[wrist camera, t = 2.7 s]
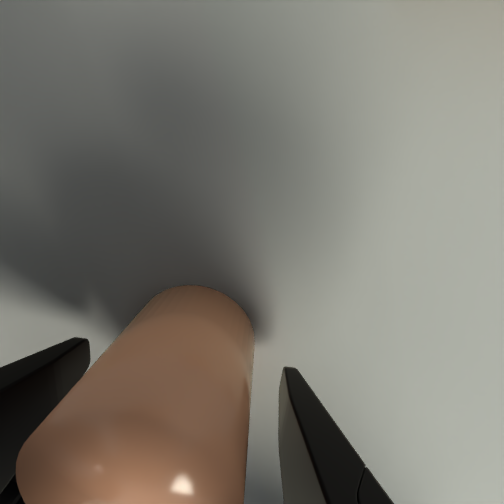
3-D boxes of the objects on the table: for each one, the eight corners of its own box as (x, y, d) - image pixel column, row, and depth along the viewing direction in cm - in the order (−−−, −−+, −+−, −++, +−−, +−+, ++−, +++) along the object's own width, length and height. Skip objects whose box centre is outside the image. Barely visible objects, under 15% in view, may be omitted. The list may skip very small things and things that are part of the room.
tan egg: (137, 378, 11) (31, 551, 6) (136, 277, 9) (-4, 393, 4) (247, 393, 10) (231, 581, 6) (262, 294, 9) (257, 430, 4)
